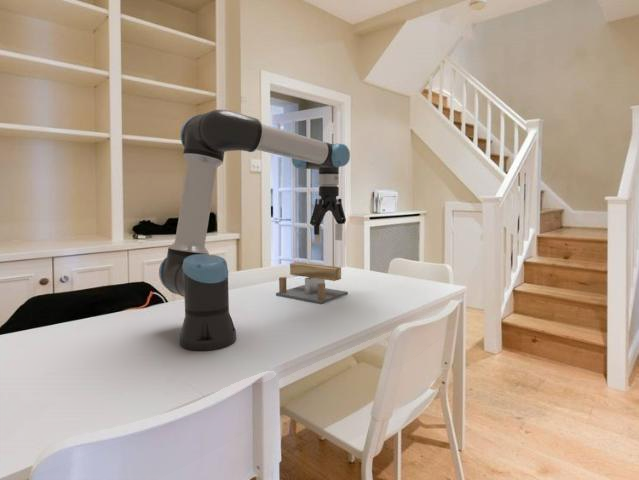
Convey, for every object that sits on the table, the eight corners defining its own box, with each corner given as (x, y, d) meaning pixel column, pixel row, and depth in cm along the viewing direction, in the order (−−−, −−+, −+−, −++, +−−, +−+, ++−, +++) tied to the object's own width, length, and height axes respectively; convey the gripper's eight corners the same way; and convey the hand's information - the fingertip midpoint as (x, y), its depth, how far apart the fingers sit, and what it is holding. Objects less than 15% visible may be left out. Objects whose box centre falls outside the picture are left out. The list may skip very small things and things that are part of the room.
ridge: (309, 296, 163) (309, 279, 162) (305, 296, 165) (304, 278, 164) (324, 291, 171) (324, 274, 170) (320, 291, 173) (320, 274, 172)
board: (320, 304, 153) (320, 285, 152) (275, 295, 166) (275, 278, 165) (347, 294, 167) (347, 276, 166) (304, 287, 180) (304, 270, 179)
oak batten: (334, 281, 159) (334, 269, 158) (290, 274, 172) (290, 263, 171) (341, 278, 162) (341, 267, 162) (297, 272, 175) (297, 262, 175)
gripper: (316, 185, 147) (316, 245, 149) (354, 186, 167) (354, 239, 169) (300, 185, 151) (300, 244, 153) (339, 186, 171) (338, 238, 173)
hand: (328, 241), depth 161 cm, fingers open, 13 cm apart
